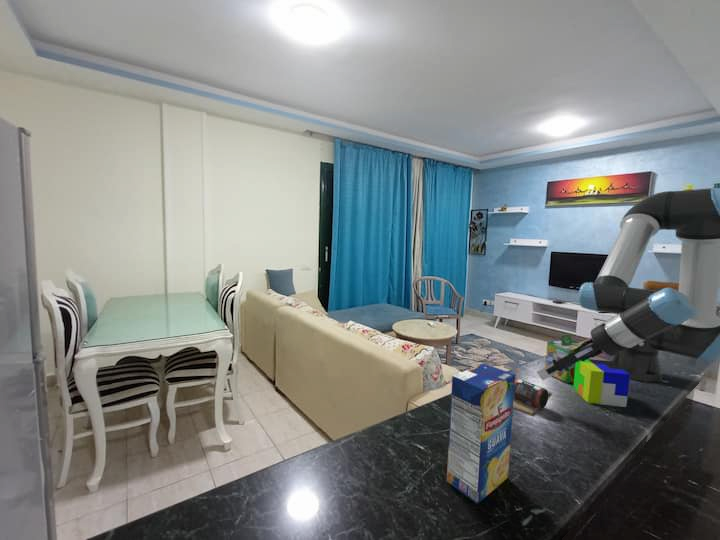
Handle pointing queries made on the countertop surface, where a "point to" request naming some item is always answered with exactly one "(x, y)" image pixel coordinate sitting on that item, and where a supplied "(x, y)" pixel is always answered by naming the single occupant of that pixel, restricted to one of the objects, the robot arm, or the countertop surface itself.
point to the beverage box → (480, 430)
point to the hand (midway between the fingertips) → (540, 375)
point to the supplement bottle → (530, 393)
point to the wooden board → (524, 406)
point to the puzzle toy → (601, 382)
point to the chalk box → (561, 356)
